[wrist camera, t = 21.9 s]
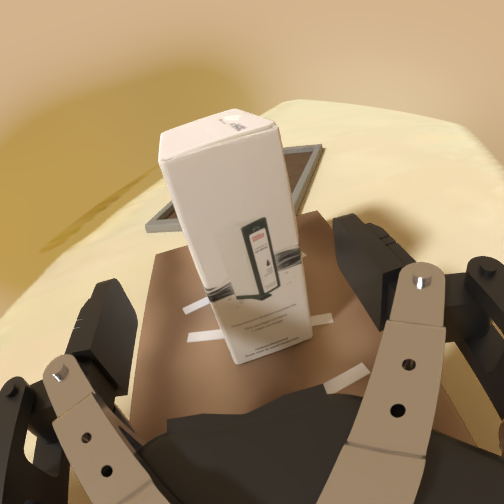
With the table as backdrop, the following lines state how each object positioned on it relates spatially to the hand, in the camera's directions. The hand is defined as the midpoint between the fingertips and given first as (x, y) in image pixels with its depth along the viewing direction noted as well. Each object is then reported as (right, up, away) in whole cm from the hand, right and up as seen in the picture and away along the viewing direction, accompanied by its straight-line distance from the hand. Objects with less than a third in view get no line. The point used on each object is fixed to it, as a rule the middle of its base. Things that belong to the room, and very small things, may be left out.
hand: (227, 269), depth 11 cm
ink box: (+1, -3, +9) cm, 10 cm away
